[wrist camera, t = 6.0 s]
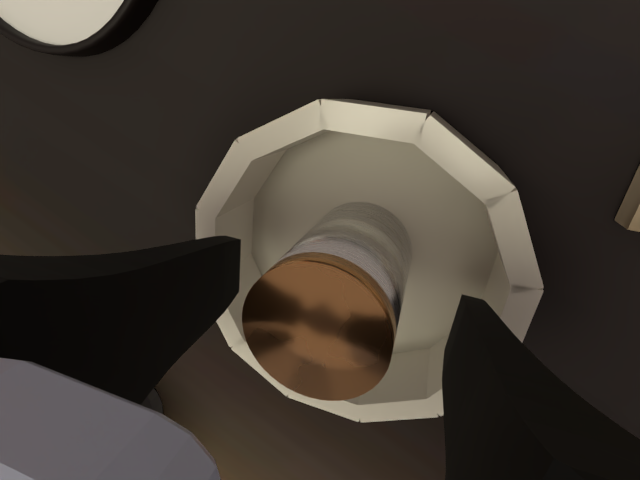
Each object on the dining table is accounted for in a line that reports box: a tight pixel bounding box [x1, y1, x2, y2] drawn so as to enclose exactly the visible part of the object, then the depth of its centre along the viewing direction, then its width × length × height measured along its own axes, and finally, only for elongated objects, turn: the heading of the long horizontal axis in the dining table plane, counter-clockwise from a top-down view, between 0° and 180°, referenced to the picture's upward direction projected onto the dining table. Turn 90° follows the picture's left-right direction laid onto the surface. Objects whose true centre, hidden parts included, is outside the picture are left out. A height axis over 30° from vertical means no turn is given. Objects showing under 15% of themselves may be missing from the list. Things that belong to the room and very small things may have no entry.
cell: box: [242, 202, 412, 401], centre depth 12 cm, size 4×4×6 cm
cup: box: [195, 99, 544, 423], centre depth 14 cm, size 11×11×4 cm
